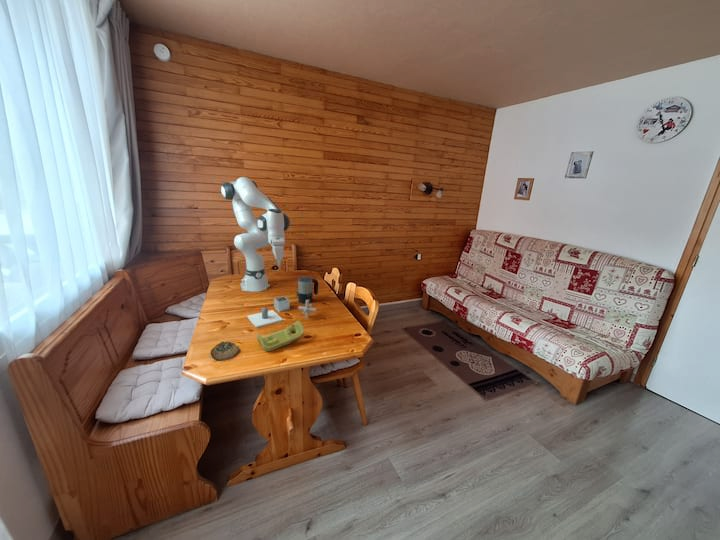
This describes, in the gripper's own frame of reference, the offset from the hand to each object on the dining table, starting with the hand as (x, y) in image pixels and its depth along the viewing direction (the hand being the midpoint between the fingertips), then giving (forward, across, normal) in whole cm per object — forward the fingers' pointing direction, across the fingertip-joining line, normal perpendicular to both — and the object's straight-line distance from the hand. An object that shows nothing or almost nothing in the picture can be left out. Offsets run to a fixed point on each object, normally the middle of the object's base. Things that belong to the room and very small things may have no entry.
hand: (278, 263), depth 155 cm
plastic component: (+28, +38, -4) cm, 47 cm away
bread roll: (+28, +40, -27) cm, 56 cm away
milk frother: (+27, -11, +16) cm, 33 cm away
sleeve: (+27, +1, +1) cm, 27 cm away
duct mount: (+27, +12, -9) cm, 31 cm away
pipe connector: (+28, +16, +13) cm, 35 cm away
